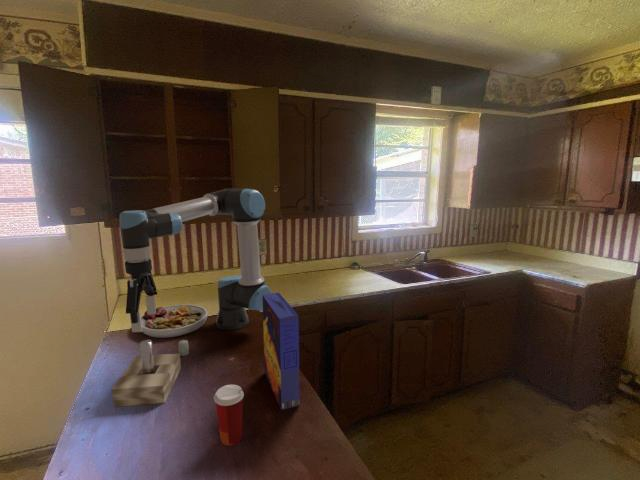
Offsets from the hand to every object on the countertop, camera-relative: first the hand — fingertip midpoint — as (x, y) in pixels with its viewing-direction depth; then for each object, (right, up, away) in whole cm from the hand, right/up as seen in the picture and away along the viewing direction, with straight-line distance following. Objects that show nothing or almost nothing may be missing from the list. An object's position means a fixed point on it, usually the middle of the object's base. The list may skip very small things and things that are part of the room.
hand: (145, 322), depth 114 cm
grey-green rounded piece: (+3, -19, +25) cm, 31 cm away
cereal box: (+44, -23, +3) cm, 50 cm away
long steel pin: (0, -23, +4) cm, 23 cm away
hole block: (0, -23, +4) cm, 23 cm away
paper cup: (+33, -27, -19) cm, 47 cm away
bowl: (-12, -14, +51) cm, 55 cm away
